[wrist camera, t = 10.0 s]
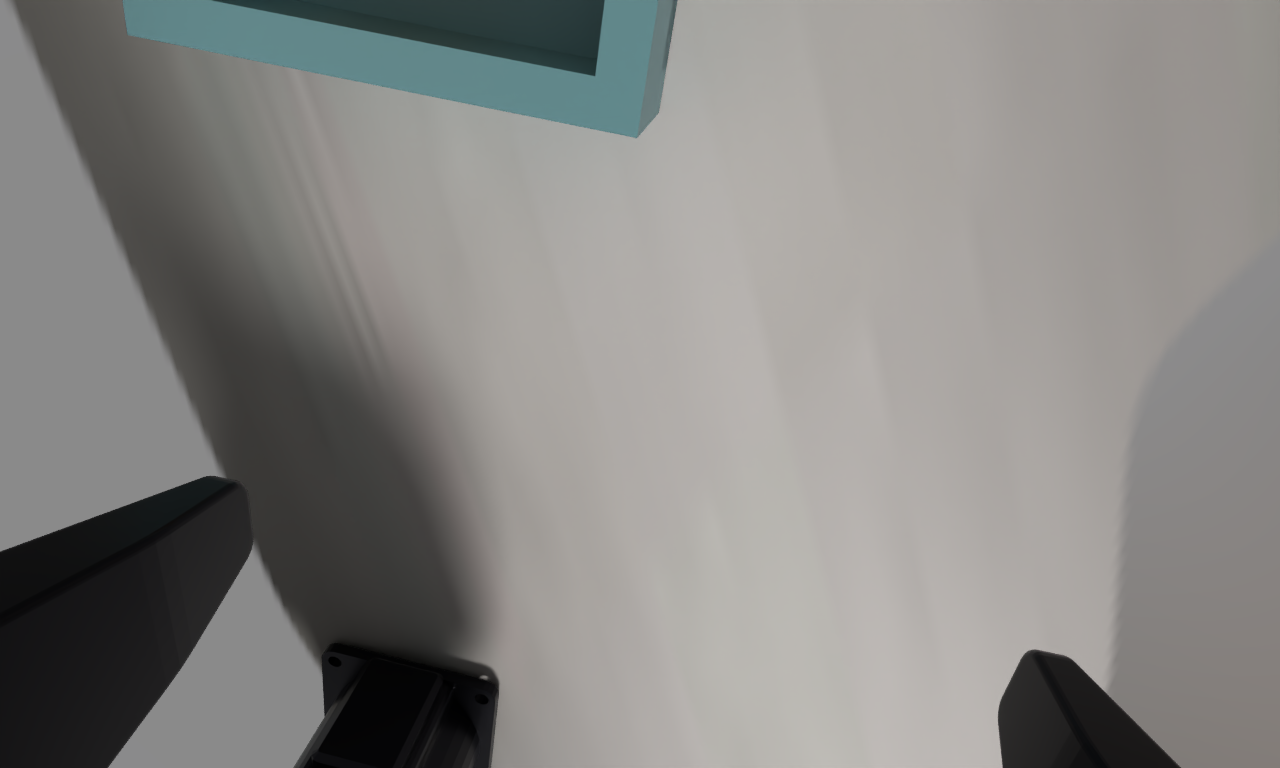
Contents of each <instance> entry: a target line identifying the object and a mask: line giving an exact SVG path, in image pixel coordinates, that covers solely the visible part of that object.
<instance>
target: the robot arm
mask: <svg viewBox="0 0 1280 768" xmlns="http://www.w3.org/2000/svg"><path fill="white" fill-rule="evenodd" d="M252 545H253V528H252V520H251V512H250V504H249V496H248V491H247V489H246V487H245V485H244V484H243V483H241V482H239V481H236V480H231V479H226V478H221V477H216V476H206V477H203V478H200V479H197V480H195V481H192V482H189V483H186V484H184V485H181V486H178V487H175V488H173V489H170V490H167V491H165V492H162V493H159V494H156V495H153V496H151V497H148V498H145V499H143V500H140V501H137V502H134V503H132V504H129V505H126V506H123V507H121V508H118V509H115V510H113V511H110V512H107V513H104V514H102V515H99V516H96V517H94V518H91V519H88V520H85V521H83V522H80V523H77V524H74V525H72V526H69V527H66V528H64V529H61V530H58V531H55V532H53V533H50V534H47V535H44V536H42V537H39V538H36V539H33V540H31V541H28V542H25V543H23V544H20V545H17V546H15V547H12V548H9V549H6V550H3V551H1V552H0V768H108V767H109V765H110V764H111V763H112V761H113V760H114V759H115V757H116V756H117V755H118V753H119V752H120V751H121V749H122V748H123V746H124V745H125V744H126V743H127V741H128V740H129V739H130V737H131V736H132V735H133V733H134V732H135V730H136V729H137V728H138V726H139V725H140V724H141V722H142V721H143V720H144V718H145V717H146V715H147V714H148V713H149V712H150V710H151V709H152V708H153V706H154V705H155V704H156V702H157V701H158V699H159V698H160V697H161V696H162V694H163V693H164V692H165V690H166V689H167V687H168V686H169V685H170V683H171V682H172V680H173V679H174V678H175V676H176V675H177V674H178V672H179V671H180V669H181V668H182V666H183V665H184V663H185V661H186V660H187V658H188V657H189V655H190V654H191V652H192V651H193V649H194V647H195V646H196V644H197V642H198V640H199V639H200V637H201V635H202V634H203V632H204V630H205V629H206V627H207V625H208V624H209V622H210V621H211V619H212V617H213V616H214V614H215V612H216V611H217V609H218V607H219V605H220V604H221V602H222V601H223V599H224V597H225V595H226V594H227V592H228V590H229V589H230V587H231V585H232V584H233V582H234V580H235V579H236V577H237V575H238V574H239V572H240V570H241V569H242V567H243V565H244V563H245V562H246V560H247V559H248V557H249V554H250V552H251V549H252ZM322 673H323V692H324V713H325V717H324V719H323V721H322V722H321V724H320V725H319V727H318V729H317V730H316V732H315V734H314V735H313V737H312V738H311V740H310V742H309V743H308V745H307V747H306V748H305V750H304V752H303V753H302V755H301V756H300V758H299V760H298V761H297V763H296V764H295V766H294V768H491V762H492V753H493V743H494V734H495V725H496V716H497V706H498V697H499V692H498V689H497V687H496V686H495V685H494V684H492V683H490V682H488V681H485V680H481V679H477V678H473V677H469V676H465V675H461V674H457V673H453V672H450V671H446V670H442V669H438V668H434V667H430V666H426V665H422V664H418V663H414V662H410V661H406V660H402V659H398V658H394V657H390V656H387V655H383V654H379V653H375V652H371V651H367V650H363V649H359V648H355V647H351V646H347V645H343V644H338V643H334V644H331V645H329V646H328V648H327V649H326V651H325V652H324V654H323V655H322ZM998 726H999V736H1000V746H1001V756H1002V765H1003V768H1181V767H1180V766H1179V765H1178V764H1177V763H1176V762H1175V761H1174V760H1173V759H1172V758H1171V757H1170V756H1168V754H1167V753H1166V752H1165V751H1164V750H1163V749H1162V748H1161V747H1160V746H1159V745H1158V744H1157V743H1156V742H1155V741H1153V739H1152V738H1151V737H1150V736H1148V734H1147V733H1146V732H1145V731H1144V730H1143V729H1142V728H1141V727H1140V726H1139V725H1137V724H1136V722H1135V721H1134V720H1133V719H1132V718H1130V716H1129V715H1128V714H1126V712H1125V711H1124V710H1123V709H1122V708H1121V707H1119V705H1117V704H1116V703H1115V702H1114V701H1113V700H1112V699H1111V698H1110V697H1109V696H1108V695H1107V694H1106V693H1105V692H1104V691H1103V690H1102V689H1101V688H1100V687H1099V686H1098V685H1097V684H1096V683H1095V682H1094V681H1093V680H1092V679H1091V678H1090V677H1089V676H1088V675H1087V674H1086V673H1085V672H1084V671H1083V670H1082V669H1081V668H1080V667H1079V666H1078V665H1077V664H1076V663H1075V662H1074V661H1073V660H1072V659H1070V658H1069V657H1066V656H1064V655H1059V654H1055V653H1050V652H1045V651H1040V650H1030V651H1027V652H1026V653H1025V654H1024V655H1023V657H1022V658H1021V660H1020V662H1019V664H1018V666H1017V668H1016V670H1015V672H1014V674H1013V676H1012V678H1011V680H1010V682H1009V684H1008V686H1007V688H1006V690H1005V692H1004V694H1003V696H1002V699H1001V701H1000V705H999V711H998Z"/></svg>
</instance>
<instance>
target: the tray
mask: <svg viewBox="0 0 1280 768" xmlns="http://www.w3.org/2000/svg"><path fill="white" fill-rule="evenodd" d="M676 6H677V0H123V7H124V14H125V21H126V28H127V35H130V36H135V37H140V38H145V39H150V40H155V41H160V42H165V43H170V44H175V45H180V46H185V47H190V48H195V49H200V50H205V51H210V52H214V53H219V54H224V55H229V56H234V57H239V58H244V59H249V60H254V61H259V62H264V63H269V64H274V65H279V66H284V67H289V68H294V69H298V70H303V71H308V72H313V73H318V74H323V75H328V76H333V77H338V78H343V79H348V80H353V81H358V82H363V83H368V84H373V85H378V86H382V87H387V88H392V89H397V90H402V91H407V92H412V93H417V94H422V95H427V96H432V97H437V98H442V99H447V100H452V101H457V102H462V103H467V104H471V105H476V106H481V107H486V108H491V109H496V110H501V111H506V112H511V113H516V114H521V115H526V116H531V117H536V118H541V119H546V120H551V121H555V122H560V123H565V124H570V125H575V126H580V127H585V128H590V129H595V130H600V131H605V132H610V133H615V134H620V135H625V136H630V137H635V138H637V137H638V136H639V135H640V134H641V133H642V132H643V131H644V129H645V128H646V127H647V126H648V125H649V124H650V122H651V121H652V120H653V119H654V118H655V117H656V115H657V114H658V113H659V108H660V102H661V96H662V90H663V84H664V78H665V72H666V66H667V60H668V54H669V48H670V42H671V36H672V30H673V24H674V18H675V12H676Z"/></svg>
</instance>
